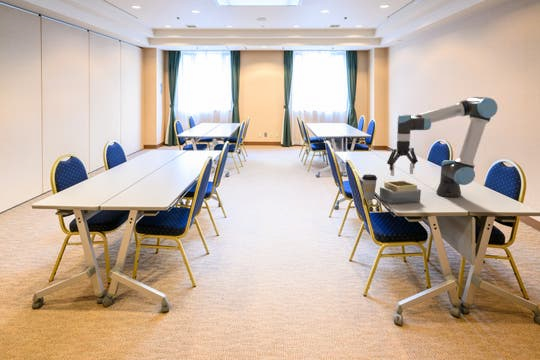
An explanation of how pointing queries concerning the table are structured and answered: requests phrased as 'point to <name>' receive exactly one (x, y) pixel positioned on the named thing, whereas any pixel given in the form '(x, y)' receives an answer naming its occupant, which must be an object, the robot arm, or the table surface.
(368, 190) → the coffee cup
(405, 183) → the open square box
